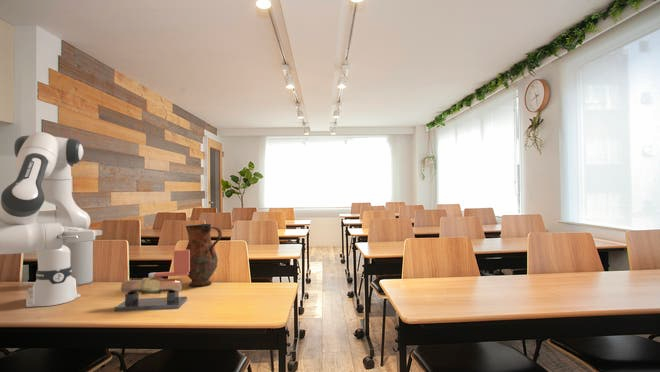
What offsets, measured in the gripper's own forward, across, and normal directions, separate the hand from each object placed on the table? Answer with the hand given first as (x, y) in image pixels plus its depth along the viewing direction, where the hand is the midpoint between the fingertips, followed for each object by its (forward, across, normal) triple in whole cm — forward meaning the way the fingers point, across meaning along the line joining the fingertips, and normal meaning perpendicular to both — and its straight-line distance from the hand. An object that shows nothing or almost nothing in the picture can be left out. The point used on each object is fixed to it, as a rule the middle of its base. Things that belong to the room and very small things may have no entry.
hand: (100, 232), depth 128 cm
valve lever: (+25, 0, +21) cm, 32 cm away
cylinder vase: (+14, +73, +32) cm, 81 cm away
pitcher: (+51, +17, +32) cm, 63 cm away
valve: (+20, +4, +32) cm, 38 cm away
